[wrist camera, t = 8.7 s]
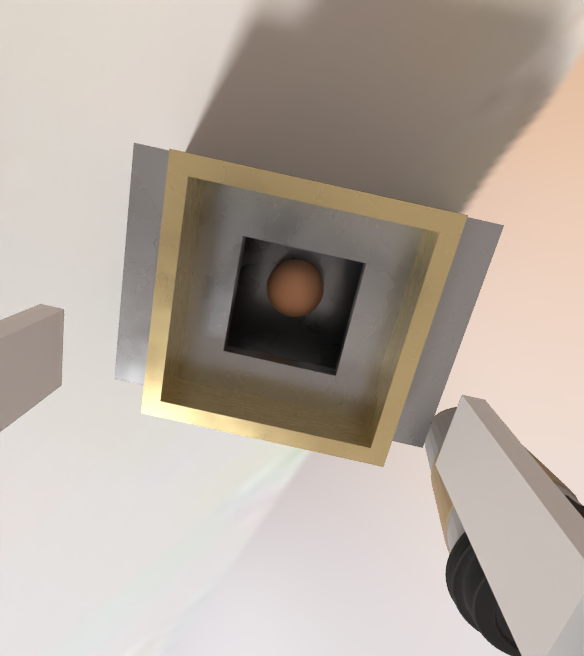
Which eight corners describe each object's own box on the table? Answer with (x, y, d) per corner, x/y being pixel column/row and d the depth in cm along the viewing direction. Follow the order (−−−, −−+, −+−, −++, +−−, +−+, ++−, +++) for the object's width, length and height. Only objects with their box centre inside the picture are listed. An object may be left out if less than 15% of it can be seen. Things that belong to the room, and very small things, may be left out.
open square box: (161, 337, 34) (89, 401, 23) (182, 157, 29) (105, 134, 19) (399, 390, 34) (435, 478, 23) (456, 218, 29) (531, 229, 19)
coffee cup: (488, 367, 32) (619, 499, 18) (535, 456, 35) (685, 638, 20) (381, 419, 34) (424, 575, 20) (432, 500, 37) (503, 694, 22)
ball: (267, 302, 31) (256, 315, 28) (277, 250, 30) (267, 257, 26) (318, 314, 31) (314, 329, 27) (330, 263, 30) (328, 271, 26)
